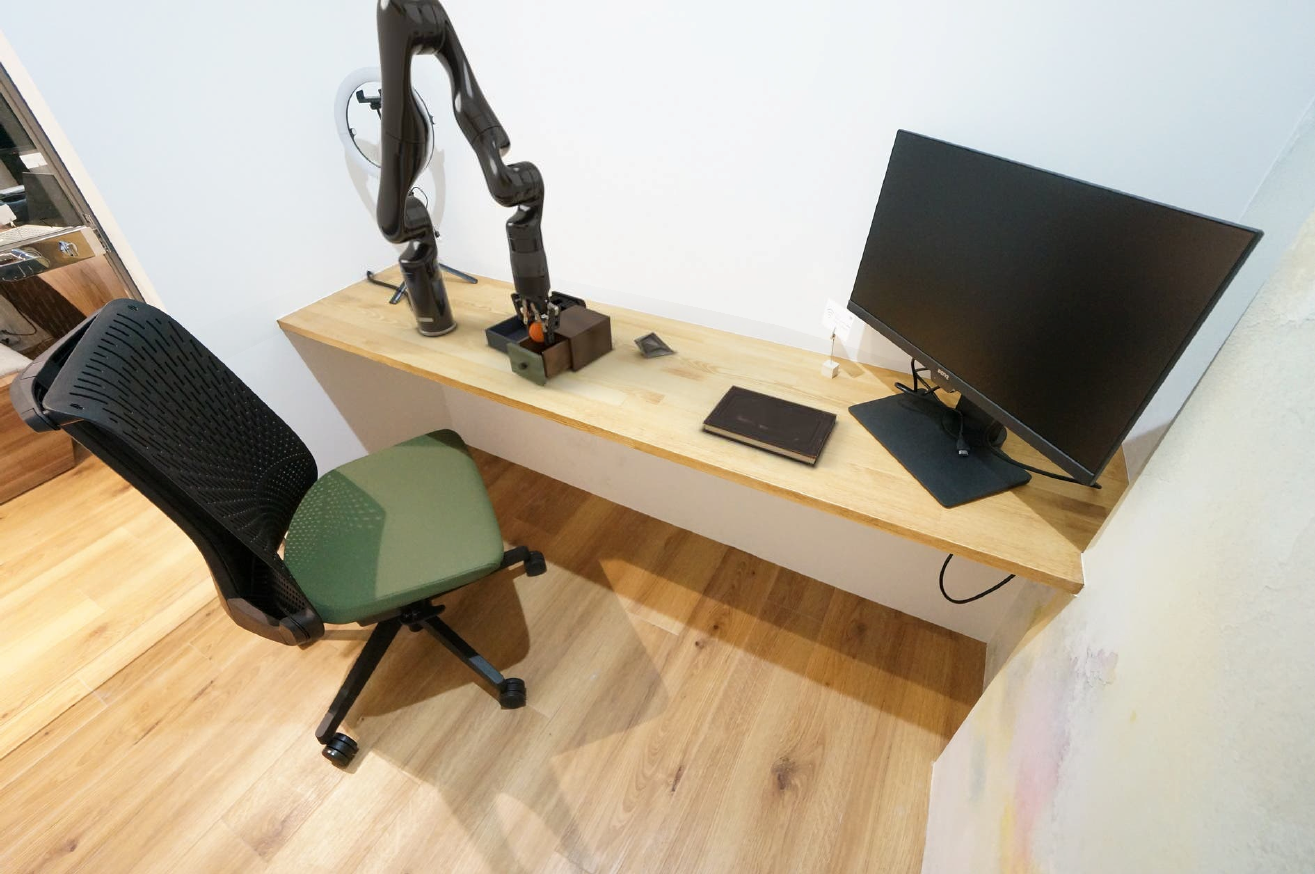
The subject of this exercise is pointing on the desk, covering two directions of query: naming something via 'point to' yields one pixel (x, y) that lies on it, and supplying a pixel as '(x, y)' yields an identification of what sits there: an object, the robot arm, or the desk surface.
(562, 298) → the end cap
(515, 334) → the box
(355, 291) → the desk surface
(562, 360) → the drawer
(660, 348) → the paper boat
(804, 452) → the hardcover book
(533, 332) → the ball
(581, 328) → the cabinet
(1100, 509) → the desk surface
